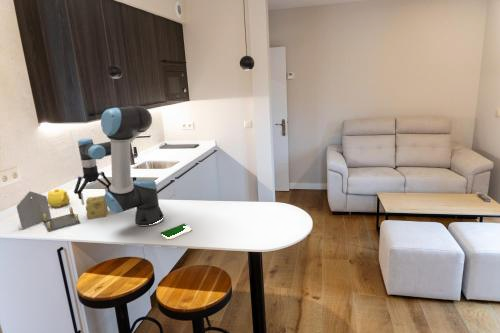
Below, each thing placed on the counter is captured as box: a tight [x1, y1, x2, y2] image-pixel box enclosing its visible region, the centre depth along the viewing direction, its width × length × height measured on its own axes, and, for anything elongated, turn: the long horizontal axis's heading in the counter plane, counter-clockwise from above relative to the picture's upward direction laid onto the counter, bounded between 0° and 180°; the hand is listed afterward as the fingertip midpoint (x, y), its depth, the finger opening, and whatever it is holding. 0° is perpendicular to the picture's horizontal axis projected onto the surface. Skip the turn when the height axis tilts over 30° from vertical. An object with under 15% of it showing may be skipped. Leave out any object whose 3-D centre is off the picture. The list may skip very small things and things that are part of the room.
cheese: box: [85, 195, 109, 220], centre depth 199 cm, size 10×11×10 cm
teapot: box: [47, 188, 71, 209], centre depth 217 cm, size 18×11×11 cm, turn 64°
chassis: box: [42, 206, 81, 233], centre depth 190 cm, size 16×16×5 cm
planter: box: [16, 190, 52, 231], centre depth 190 cm, size 16×8×19 cm, turn 152°
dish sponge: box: [160, 223, 187, 237], centre depth 170 cm, size 7×14×2 cm, turn 134°
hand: (95, 201), depth 198 cm, fingers open, 13 cm apart
